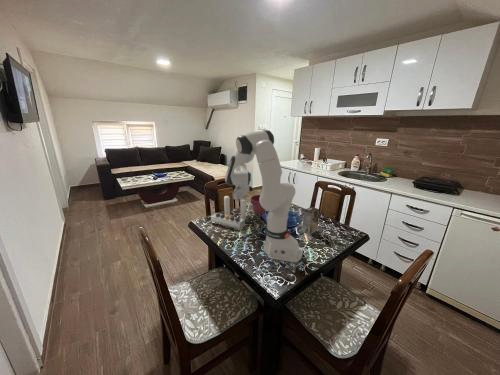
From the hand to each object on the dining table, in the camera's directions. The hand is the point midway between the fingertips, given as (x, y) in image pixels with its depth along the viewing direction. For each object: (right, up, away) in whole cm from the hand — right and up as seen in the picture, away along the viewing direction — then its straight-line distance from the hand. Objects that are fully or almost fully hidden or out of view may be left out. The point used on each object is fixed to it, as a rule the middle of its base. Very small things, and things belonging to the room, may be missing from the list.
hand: (241, 201), depth 166 cm
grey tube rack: (-9, -16, -15) cm, 24 cm away
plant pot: (+14, -10, +4) cm, 18 cm away
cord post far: (-11, -11, -3) cm, 16 cm away
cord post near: (+2, -13, -8) cm, 16 cm away
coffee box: (+47, -19, -23) cm, 56 cm away
